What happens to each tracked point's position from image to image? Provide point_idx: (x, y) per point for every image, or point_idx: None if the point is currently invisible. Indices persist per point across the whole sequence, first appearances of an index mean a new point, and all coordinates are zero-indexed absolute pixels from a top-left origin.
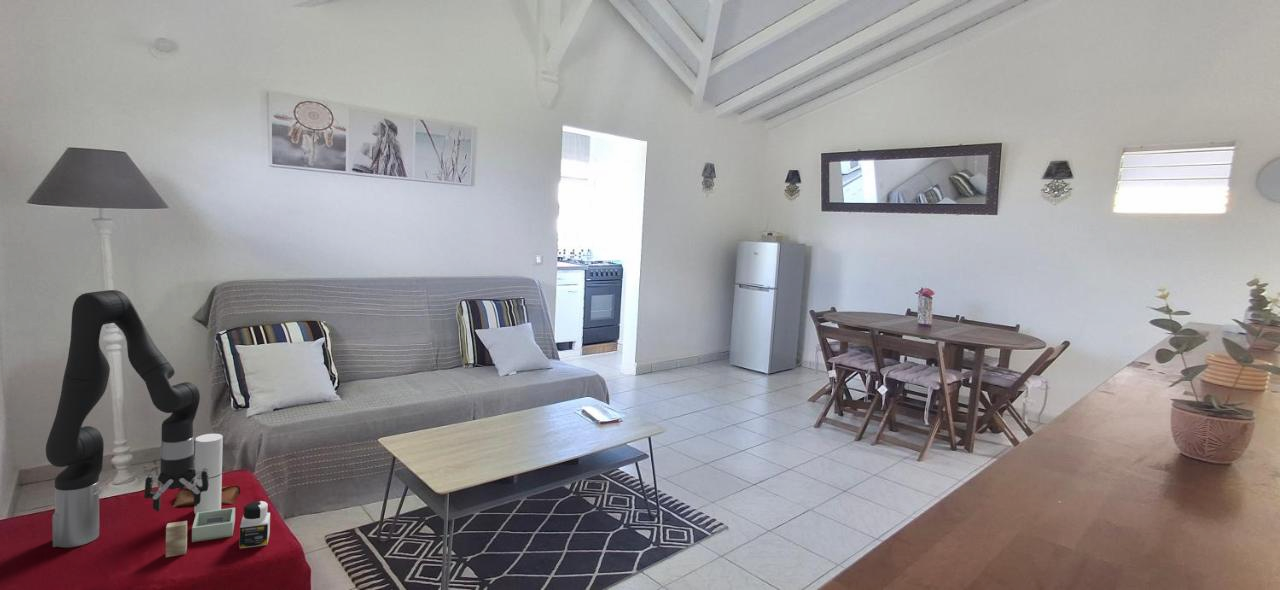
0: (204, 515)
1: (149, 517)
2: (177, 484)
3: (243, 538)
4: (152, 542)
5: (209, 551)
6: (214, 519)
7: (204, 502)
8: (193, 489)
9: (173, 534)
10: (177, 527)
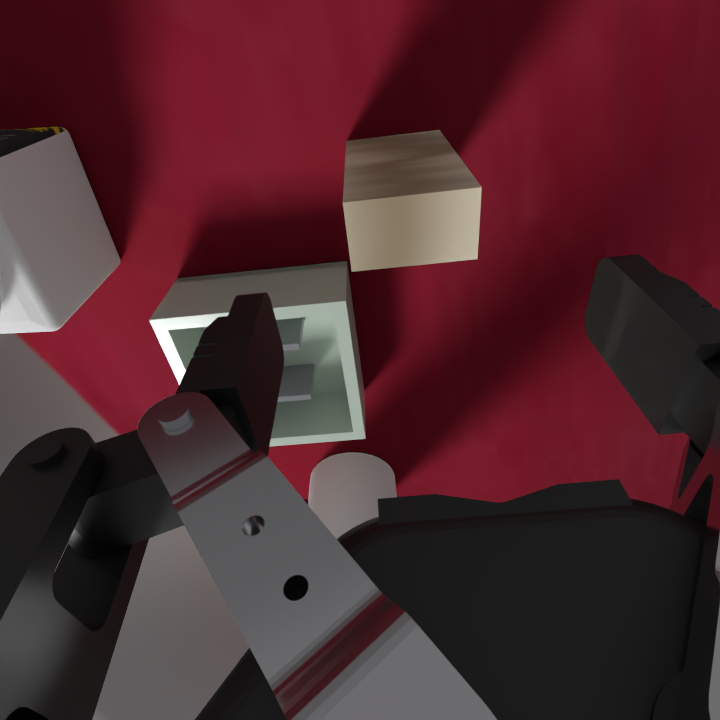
0: (331, 422)
1: (532, 468)
2: (515, 589)
3: (5, 139)
4: (512, 298)
5: (228, 139)
6: (281, 390)
7: (355, 500)
8: (215, 459)
9: (420, 172)
10: (400, 191)
